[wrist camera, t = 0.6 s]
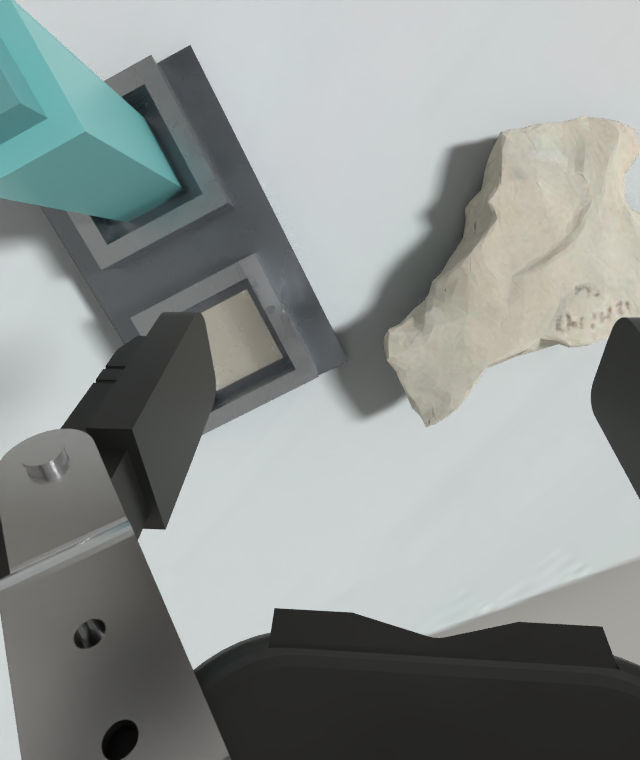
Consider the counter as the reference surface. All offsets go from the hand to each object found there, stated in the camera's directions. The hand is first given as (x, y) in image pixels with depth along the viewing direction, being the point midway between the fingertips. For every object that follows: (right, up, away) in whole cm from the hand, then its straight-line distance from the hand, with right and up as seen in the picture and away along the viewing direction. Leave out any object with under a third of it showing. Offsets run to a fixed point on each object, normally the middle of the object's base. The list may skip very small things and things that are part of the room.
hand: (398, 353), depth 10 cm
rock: (+11, +7, +23) cm, 27 cm away
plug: (-12, +11, +19) cm, 26 cm away
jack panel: (-10, +7, +22) cm, 25 cm away
